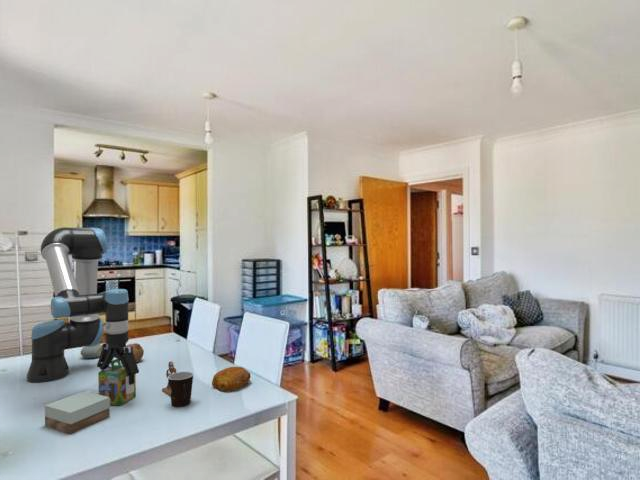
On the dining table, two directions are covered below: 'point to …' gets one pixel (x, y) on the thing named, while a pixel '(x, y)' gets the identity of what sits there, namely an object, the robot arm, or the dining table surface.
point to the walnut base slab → (77, 425)
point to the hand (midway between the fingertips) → (117, 389)
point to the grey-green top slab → (77, 407)
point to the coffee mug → (180, 388)
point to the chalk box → (115, 384)
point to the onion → (137, 351)
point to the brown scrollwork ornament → (167, 390)
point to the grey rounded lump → (92, 351)
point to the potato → (230, 378)
